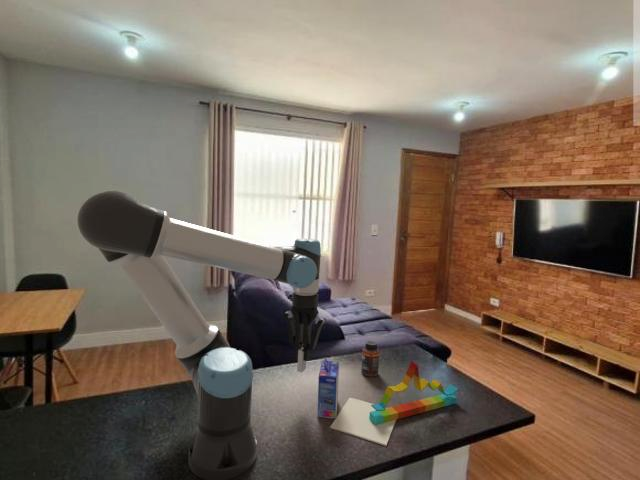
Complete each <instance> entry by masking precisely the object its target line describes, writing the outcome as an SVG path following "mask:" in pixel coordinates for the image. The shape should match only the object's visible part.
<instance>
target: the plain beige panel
mask: <svg viewBox="0 0 640 480" xmlns="http://www.w3.org/2000/svg"><path fill="white" fill-rule="evenodd" d="M372 404H373V403H371V402H367V401H364V400H361V399H358V398H354V397H353V398H352V397H349V398H348V399H347V401H346V403H345V404H344V405H343V406H342V408H341V410H340V411H339V413H338V414H337V415H336V419H333V422H332V424H330V426H329V428H330V429H333V430H334V431H339V432H341V433H345V434H347V435H350V436H354V437H357V438H359V439H363V440H366V441H368V442H369V441H370V442H372V443H375V444H378V445H381V446H384V447H387V445H388V443H389V440H390V437H391V436H392V435H391V434H392V433H393V430H394V427H395V424H396V421H397V419H396V420H392V421H388V422H385V423H381V424H377V425H375V424H374V423H373V422H372V421H371V420H370V419H369V415H370V412H372V411H376V410H375V409H374V408H373V407H372V406H371V405H372Z"/></svg>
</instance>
